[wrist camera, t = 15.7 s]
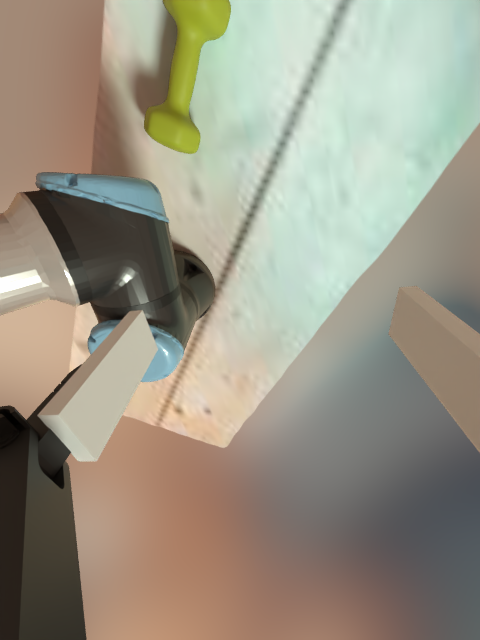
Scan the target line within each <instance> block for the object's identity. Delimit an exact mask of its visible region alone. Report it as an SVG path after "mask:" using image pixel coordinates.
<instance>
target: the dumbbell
mask: <svg viewBox="0 0 480 640" xmlns="http://www.w3.org/2000/svg"><path fill="white" fill-rule="evenodd" d="M163 3H164V5H165V7H166V9H167V10H168V12H169V13H170V14H171V15H172V17H173V18H174V20H175V22H176V25H177V40H176V45H175V49H174V54H173V59H172V63H171V70H170V78H169V87H168V95H167V98H166V100H165V102H164V103H163V104H161V105H157V106H151V107H149V108H148V109H147V111H146V114H145V120H144V129H145V131H146V132H147V134H148V135H149V136H150V137H151V138H152V139H154V140H155V141H157V142H158V143H160V144H162V145H164V146H166V147H169V148H171V149H173V150H176V151H179V152H183V153H188V154H193V153H196V152H197V150H198V147H199V143H200V132H199V130H198V128H197V127H196V126H195V124H194V123H193V122H192V120H191V119H190V116H189V105H190V101H191V97H192V93H193V89H194V84H195V80H196V74H197V69H198V63H199V57H200V51H201V48H202V45H203V44H204V43H205V42H206V41H209V40H215V39H218V38H220V37H221V36H222V35H223V34H224V33H225V31H226V29H227V26H228V22H229V18H230V13H231V5H230V2H229V0H163Z"/></svg>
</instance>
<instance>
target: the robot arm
mask: <svg viewBox="0 0 480 640" xmlns="http://www.w3.org/2000/svg"><path fill="white" fill-rule="evenodd" d="M36 180H37V181H36V186H37V188H39V189H40V190H39V191H31V192H19V193H17V194H16V196H15V198H14V200H13V201H12V203H11V205H10V206H9V208H8V210H6V211H5V212H4V213H1V214H0V315H3V314H6V313H9V312H13V311H16V310H19V309H22V308H26V307H29V306H32V305H35V304H38V303H41V302H45V301H48V300H57V301H60V302H63V303H66V304H69V305H72V306H75V307H76V306H79V305H82V304H85V303H88V302H90V303H91V306H92V308H93V310H94V313H95V315H96V317H97V320H98V324H97V325H96V326H95V327H93V328H92V330H91V334H90V336H89V338H88V349H89V352H90V354H91V355H90V356H89V358H88V359H87V360H86V361H85V362H84V363H83V364H81V365H80V366H78V367H77V368H75V369H74V370H73V371H71V372H70V373H69V374H68V375H67V376H66V377H65V378H64V379H63V381H62V382H61V384H59V385H58V386H57V387H56V388H55V389H54V392H52V393H51V394H50V395H49V396H48V397H47V398H46V399H45V400H44V401H43V402H42V403H41V405H40V406H39V407H38V408H37V409H36V410H35V411H34V412H33V413H32V415H31V416H30V417H29V418H28V419H27V420H26V419H25V418H24V417H23V416H22V415H21V414H20V413H19V412H18V411H17V410H16V409H15V408H14V407H12V406H2V407H0V640H86V631H85V621H84V611H83V601H82V591H81V581H80V571H79V561H78V551H77V541H76V532H75V521H74V512H73V501H72V492H71V481H70V472H69V466H68V464H67V462H66V461H65V460H66V459H67V457H68V456H69V454H70V453H72V455H73V456H74V457H75V458H76V459H77V460H78V461H97V460H98V458H99V456H100V455H101V453H102V451H103V449H104V447H105V445H106V443H107V442H108V440H109V438H110V436H111V434H112V433H113V431H114V429H115V427H116V425H117V423H118V422H119V420H120V418H121V416H122V414H123V413H124V411H125V409H126V407H127V405H128V403H129V402H130V400H131V398H132V396H133V394H134V392H135V391H136V389H137V387H138V385H139V383H140V382H153V381H158V380H161V379H163V378H165V377H167V376H168V375H170V374H171V373H172V372H173V371H174V370H175V369H176V367H177V365H178V364H179V362H180V360H181V359H182V357H183V354H184V350H185V347H186V345H187V342H188V340H189V337H190V335H191V332H192V330H193V327H194V324H195V322H196V321H197V320H198V319H199V318H201V317H202V316H204V315H205V314H206V313H207V312H208V310H209V309H210V307H211V305H212V302H213V300H214V296H215V283H214V279H213V277H212V274H211V272H210V271H209V269H208V268H207V267H206V266H205V264H204V263H203V262H201V261H200V260H199V259H198V258H196V257H194V256H193V255H190V254H188V253H185V252H181V251H173V246H172V241H171V236H170V231H169V226H168V223H169V219H168V218H167V217H166V214H165V210H164V206H163V202H162V198H161V194H160V192H159V190H158V188H157V187H156V186H155V185H154V184H153V183H152V182H150V181H148V180H145V179H140V178H132V177H123V176H111V175H96V174H73V173H56V172H55V173H54V172H43V173H39V174H37V176H36ZM389 335H390V337H391V338H392V339H393V341H394V342H395V343H396V345H397V346H398V347H399V348H400V350H401V351H402V352H403V353H404V355H405V356H406V358H407V359H408V360H409V361H410V363H411V364H412V365H413V367H414V368H415V369H416V371H417V372H418V373H419V374H420V376H421V377H422V378H423V380H424V381H425V382H426V384H427V385H428V386H429V387H430V389H431V390H432V391H433V393H434V394H435V395H436V396H437V398H438V399H439V400H440V402H441V403H442V404H443V406H444V407H445V408H446V410H447V411H448V412H449V413H450V415H451V416H452V417H453V419H454V420H455V421H456V423H457V424H458V425H459V427H461V429H462V430H463V432H464V433H465V434H466V436H467V437H468V438H469V440H470V441H471V442H472V443H473V445H474V446H475V447H476V449H477V450H478V451H479V452H480V334H479V333H477V332H476V331H475V330H473V329H472V328H471V327H469V326H468V325H467V324H466V323H464V322H463V321H462V320H460V319H459V318H458V317H456V316H455V315H454V314H452V313H451V312H450V311H449V310H447V309H446V308H445V307H443V306H442V305H441V304H439V303H438V302H437V301H435V300H434V299H433V298H432V297H430V296H429V295H428V294H426V293H425V292H424V291H422V290H421V289H420V288H418V287H417V286H412V287H400V288H399V291H398V295H397V300H396V304H395V308H394V313H393V317H392V321H391V326H390V330H389Z"/></svg>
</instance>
